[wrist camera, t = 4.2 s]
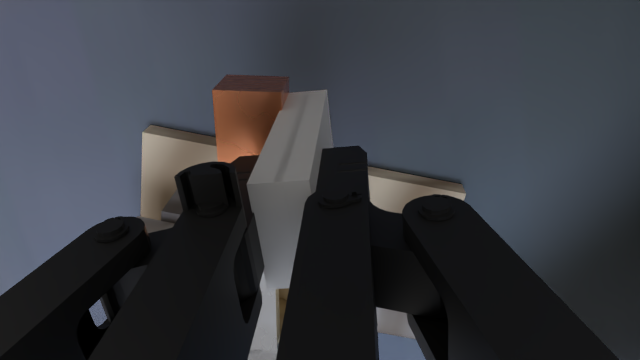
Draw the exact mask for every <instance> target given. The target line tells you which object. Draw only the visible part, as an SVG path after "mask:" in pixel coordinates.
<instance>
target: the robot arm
mask: <svg viewBox="0 0 640 360" xmlns="http://www.w3.org/2000/svg"><path fill="white" fill-rule="evenodd" d="M174 179H175V182H176V186H177V190H178V194H179V197H180V201H181V205H182V209H183V212H182V213H181V215H180V216H179V218H178V220H177V221H176V223H175V224H174V226H173V227H172V228H168V229H164V230H160V231H155V232H151V233H148V232H147V229H146V226H145V223H144V222H143V221H142V220H141V219H140V218H136V217H122V216H120V217H115V218H110V219H107V220H105V221H104V222H102V223H99V224H97V225H95V226H93V227H92V228H90V229H88V230H87V231H85V232H84V233H83V234H81V235H80V236H79V237H78V238H76V239H75V240H74V241H72V242H71V243H70V244H68V245H67V246H66V247H64V248H63V249H62V250H60V251H59V252H58V253H56V254H55V255H54V256H52V257H51V258H50V259H49V260H47V261H46V262H45V263H43V264H42V265H41V266H39V267H38V268H37V269H35V270H34V271H33V272H31V273H30V274H29V275H27V276H26V277H25V278H24V279H22V280H21V281H20V282H18V283H17V284H16V285H14V286H13V287H12V288H10V289H9V290H8V291H6V292H5V293H4V294H2V295H1V296H0V360H248V356H249V352H250V348H251V345H252V341H253V337H254V333H255V329H256V326H257V322H258V318H259V314H260V311H261V307H262V294H261V289H260V281H261V278H262V274H263V271H264V276H265V281H266V286H267V289H284V288H289V292H288V297H287V302H286V308H285V313H284V319H283V324H282V330H281V335H280V340H279V346H278V351H277V357H276V360H379V349H378V332H377V326H378V323H377V311H376V307H378V308H383V309H388V310H393V311H398V312H403V313H407V320H408V324H409V326H410V328H411V330H412V332H413V334H414V336H415V338H416V340H417V342H418V344H419V346H420V348H421V350H422V352H423V354H424V356H425V358H426V360H619V359H618V358H617V357H616V356H615V355H614V354H613V353H612V352H611V351H610V350H609V349H608V348H607V347H606V346H605V345H604V344H603V343H602V341H601V340H600V339H599V338H598V337H597V336H596V335H595V334H594V333H593V332H592V331H591V330H590V329H589V328H588V327H587V326H586V325H585V324H584V323H583V322H582V321H581V320H580V319H579V318H578V317H577V316H576V315H575V314H574V313H573V312H572V310H571V309H570V308H569V307H568V306H567V305H566V304H565V303H564V302H563V301H562V300H561V299H560V298H559V297H558V296H557V295H556V294H555V293H554V292H553V291H552V290H551V289H550V288H549V287H548V286H547V285H546V284H545V283H544V282H543V281H542V279H541V278H540V277H539V276H538V275H537V274H536V273H535V272H534V271H533V270H532V269H531V268H530V267H529V266H528V265H527V264H526V263H525V262H524V261H523V260H522V259H521V258H520V257H519V256H518V255H517V254H516V253H515V252H514V251H513V250H512V248H511V247H510V246H509V245H508V244H507V243H506V242H505V241H504V240H503V239H502V238H501V237H500V236H499V235H498V234H497V233H496V232H495V231H494V230H493V229H492V228H491V227H490V226H489V225H488V224H487V223H486V222H485V221H484V220H483V219H482V217H481V216H480V215H479V214H478V213H477V212H476V211H475V210H474V209H473V208H472V207H471V206H470V205H469V204H467V203H466V202H464V201H463V200H461V199H458V198H455V197H452V196H449V195H443V194H442V195H441V194H433V195H428V196H422V197H419V198H415V199H413V200H411V201H410V202H408V203H407V204H405V206H404V208H403V210H402V213H395V212H389V211H385V210H383V209H380V208H378V207H376V206H375V205H373V204H372V203H371V201H370V191H369V177H368V164H367V153H366V152H365V151H364V150H363V149H362V148H361V147H359V146H350V147H337V148H333V141H332V131H331V122H330V113H329V103H328V94H327V90H316V91H305V92H294V93H289V94H288V96H287V99H286V101H285V103H284V106H283V108H282V110H281V111H279V113H278V115H277V117H276V120H275V122H274V124H273V126H272V129H271V131H270V133H269V135H268V137H267V140H266V142H265V144H264V146H263V149H262V151H261V153H260V155H251V156H240V157H238V158H237V159H235V160H234V161H233V162H231V163H227V162H215V161H213V162H206V163H200V164H197V165H194V166H190V167H188V168H186V169H184V170H182V171H180V172H179V173H178V174H177V175H175V176H174ZM99 299H100V301H101V303H102V306H103V309H104V311H105V314H106V316H107V320H106V321H105V322H104V323H103V324H101V325H100V326H98V327H97V326H96V325H95V324H94V321H93V319H92V317H91V314H90V312H89V308H90V307H91V306H92V305H94V304H95V303H96V302H97V301H98V300H99Z"/></svg>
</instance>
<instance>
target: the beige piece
mask: <svg viewBox="0 0 640 360" xmlns="http://www.w3.org/2000/svg"><path fill="white" fill-rule="evenodd" d="M213 161H215V162H218V158H217V145H216V137H211V136H206V135H201V134H196V133H190V132H185V131H180V130H175V129H169V128H164V127H159V126H154V125H150V126H149V127H148V128H147V129H146V130H144V131H143V132H142V177H141V217H139V216H138V217H136V218H140V219H141V220H142V221H143V222H144V223H145V226H146V229H147V232H148V233H151V232H155V231H160V230H164V229H168V228H172V227H173V226H174V224H175V223H176V221H177V220H178V218H179V216H180V215H181V213H182V212H183V209H182V205H181V201H180V197H179V194H178V190H177V186H176V182H175V179H174V176H175V175H177V174H178V173H179V172H180V171H182V170H184V169H186V168H188V167H190V166H194V165H197V164H200V163H206V162H213ZM368 177H369V191H370V201H371V203H372V204H373V205H375V206H376V207H378V208H380V209H383V210H385V211H389V212H395V213H402V210H403V208H404V206H405V204H407V203H408V202H410V201H411V200H413V199H415V198H419V197H422V196H428V195H433V194H441V195H442V194H443V195H449V196H452V197H455V198H458V199H461V200H463V201H464V199H465V196H466V192H465V190H464V188H463V186H462V184H458V183H452V182H447V181H442V180H437V179H431V178H426V177H421V176H416V175H411V174H405V173H400V172H395V171H390V170H384V169H379V168H374V167H369V166H368ZM288 292H289V288H284V289H279V320H280V335H281V330H282V324H283V319H284V313H285V308H286V302H287V297H288ZM376 311H377V323H378V326H377V332H379V333H384V334H390V335H395V336H401V337H406V338H412V339H416V338H415V336H414V334H413V332H412V330H411V328H410V326H409V324H408V320H407V313H403V312H398V311H393V310H388V309H383V308H378V307H376Z"/></svg>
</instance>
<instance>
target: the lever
mask: <svg viewBox="0 0 640 360" xmlns="http://www.w3.org/2000/svg"><path fill="white" fill-rule="evenodd" d="M212 94H213V106H214V119H215V132H216V145H217V158H218V162H227V163H231V162H233V161H234V160H235V159H237V158H238V157H240V156H251V155H260V153H261V151H262V149H263V146H264V144H265V142H266V140H267V137H268V135H269V133H270V131H271V129H272V126H273V124H274V122H275V120H276V117H277V115H278V113H279V111H281V110H282V108H283V106H284V103H285V101H286V99H287V96H288V94H289V77H279V76H250V75H226V76H225V77H224V78H223V79H222V80H221V81H220V82H219V83H218V84H217V85H216V86H215V88H214V89H213V90H212ZM260 289H261V294H262V307H261V311H260V314H259V318H258V322H257V326H256V329H255V333H254V337H253V341H252V345H251V348H250V352H249V356H248V360H276V357H277V351H278V346H279V340H280V320H279V289H267V286H266V281H265V276H264V271H263V274H262V278H261V281H260Z"/></svg>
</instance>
